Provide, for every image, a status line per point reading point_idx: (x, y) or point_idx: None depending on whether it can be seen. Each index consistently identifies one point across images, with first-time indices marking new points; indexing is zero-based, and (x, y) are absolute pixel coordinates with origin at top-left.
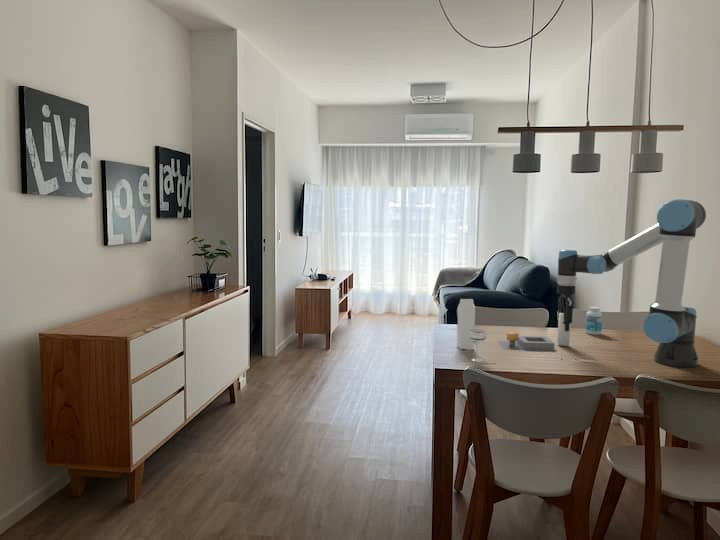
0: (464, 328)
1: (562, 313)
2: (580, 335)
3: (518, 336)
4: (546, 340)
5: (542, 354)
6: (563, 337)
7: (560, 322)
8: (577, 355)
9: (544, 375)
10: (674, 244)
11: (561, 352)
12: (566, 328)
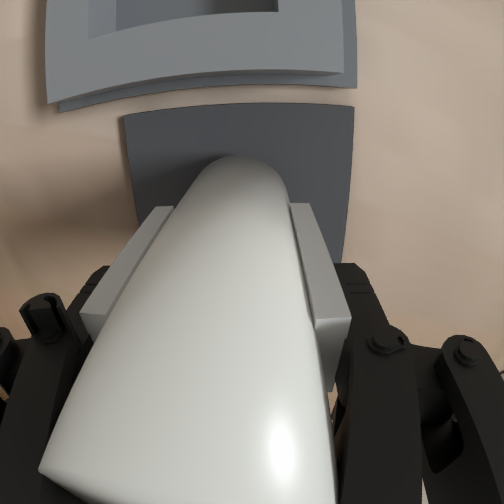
0: None
1: None
2: (497, 351)
3: None
4: (139, 35)
5: (34, 27)
6: (154, 213)
7: (132, 288)
8: (59, 230)
9: None
10: None
11: (97, 147)
12: (85, 293)
